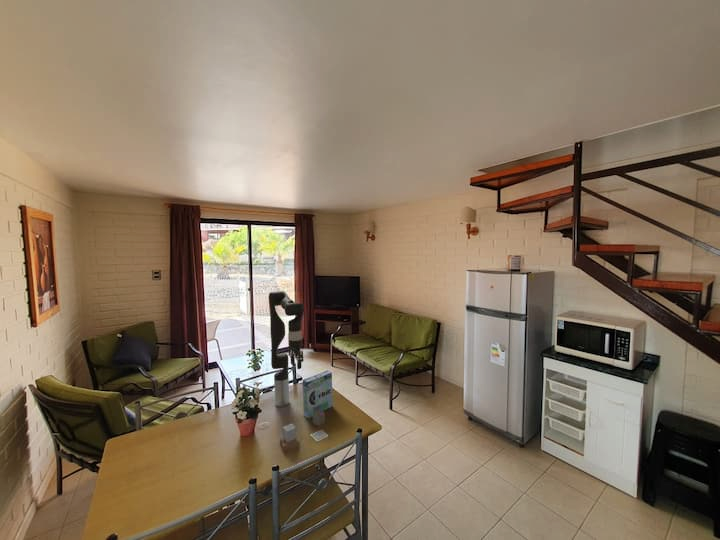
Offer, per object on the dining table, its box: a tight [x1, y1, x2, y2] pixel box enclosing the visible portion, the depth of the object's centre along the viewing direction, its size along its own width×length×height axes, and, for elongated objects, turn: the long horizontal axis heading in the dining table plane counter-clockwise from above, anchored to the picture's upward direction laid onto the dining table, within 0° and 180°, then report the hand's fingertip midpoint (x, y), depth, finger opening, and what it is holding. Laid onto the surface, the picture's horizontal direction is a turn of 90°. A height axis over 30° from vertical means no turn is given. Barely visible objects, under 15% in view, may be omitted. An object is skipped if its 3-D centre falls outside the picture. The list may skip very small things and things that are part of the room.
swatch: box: [310, 429, 329, 443], centre depth 156 cm, size 7×7×1 cm
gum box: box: [302, 370, 334, 419], centre depth 180 cm, size 20×5×23 cm, turn 134°
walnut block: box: [279, 435, 300, 454], centre depth 148 cm, size 8×8×4 cm
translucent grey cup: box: [312, 410, 326, 427], centre depth 168 cm, size 5×5×6 cm
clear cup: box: [282, 423, 297, 443], centre depth 148 cm, size 5×5×6 cm
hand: (296, 366), depth 161 cm, fingers open, 8 cm apart
